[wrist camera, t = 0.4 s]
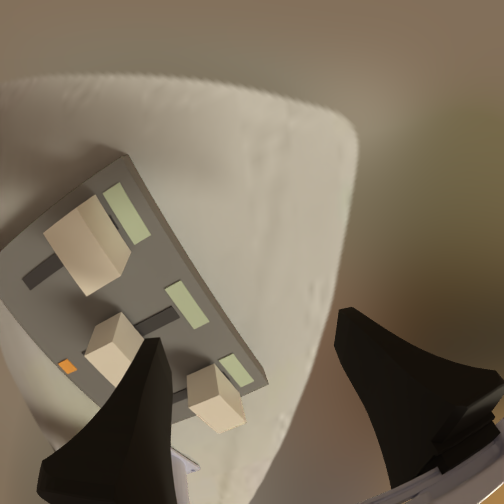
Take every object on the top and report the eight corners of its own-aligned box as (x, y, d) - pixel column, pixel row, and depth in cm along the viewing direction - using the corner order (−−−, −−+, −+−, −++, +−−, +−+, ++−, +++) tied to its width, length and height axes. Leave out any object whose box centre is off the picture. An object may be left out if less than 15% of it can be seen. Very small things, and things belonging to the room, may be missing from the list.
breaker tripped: (130, 365, 20) (125, 396, 17) (95, 325, 18) (84, 356, 15) (156, 353, 20) (153, 385, 17) (121, 311, 18) (112, 341, 15)
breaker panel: (137, 420, 25) (136, 436, 23) (-7, 260, 17) (-20, 271, 15) (263, 368, 25) (269, 384, 23) (128, 154, 17) (120, 157, 15)
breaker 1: (100, 270, 17) (86, 296, 14) (65, 216, 15) (42, 233, 12) (131, 252, 17) (120, 275, 14) (95, 194, 15) (76, 207, 12)
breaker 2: (213, 403, 23) (218, 433, 20) (186, 375, 21) (188, 407, 18) (239, 392, 23) (246, 422, 20) (214, 363, 21) (219, 395, 18)
